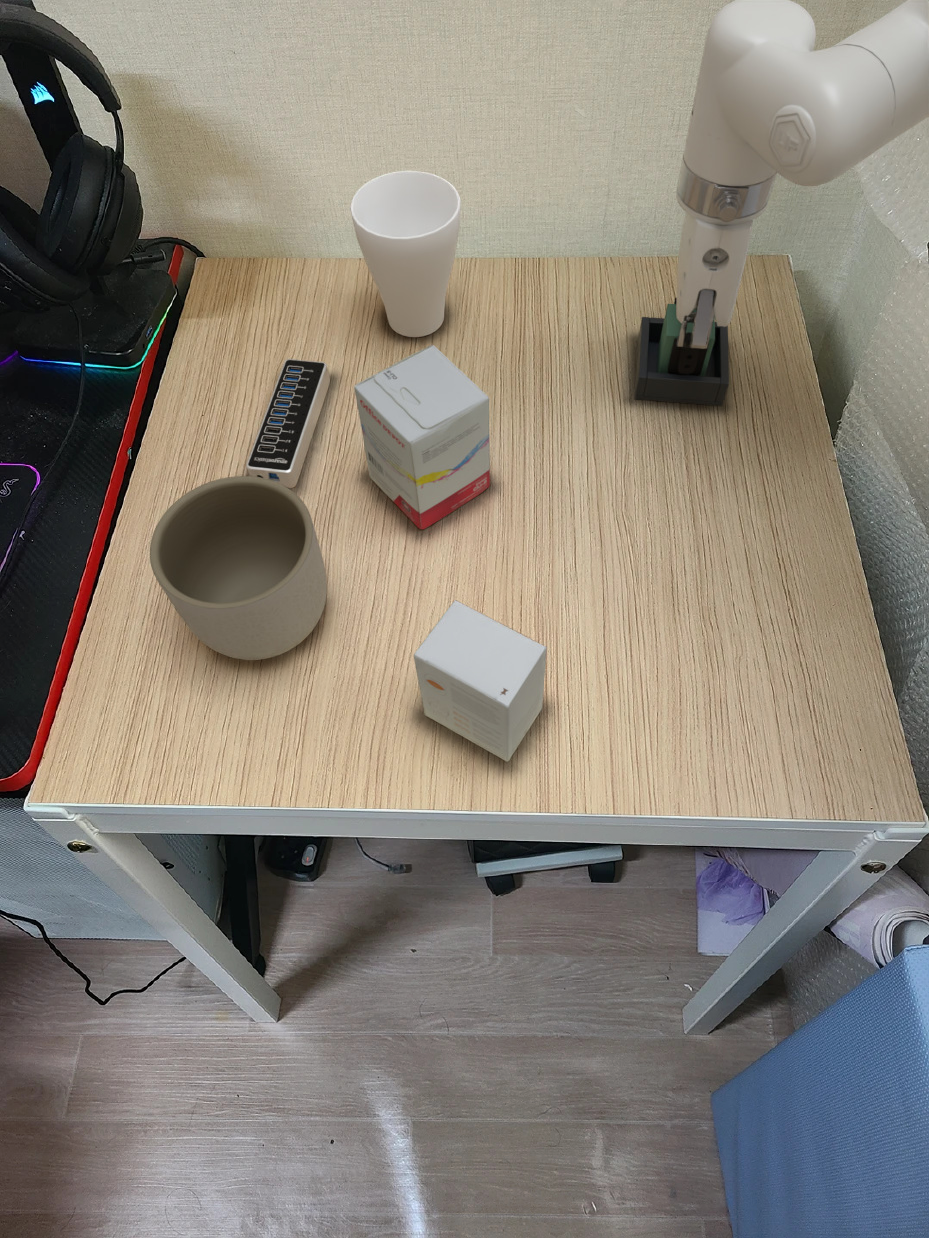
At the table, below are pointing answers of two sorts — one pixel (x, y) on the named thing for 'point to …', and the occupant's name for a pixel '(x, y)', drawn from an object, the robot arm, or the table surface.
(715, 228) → the robot arm
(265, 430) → the multiport hub
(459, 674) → the small box
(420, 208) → the cup
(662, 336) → the pad block
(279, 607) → the planter
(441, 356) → the ink box
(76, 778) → the table surface
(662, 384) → the socket
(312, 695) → the table surface
